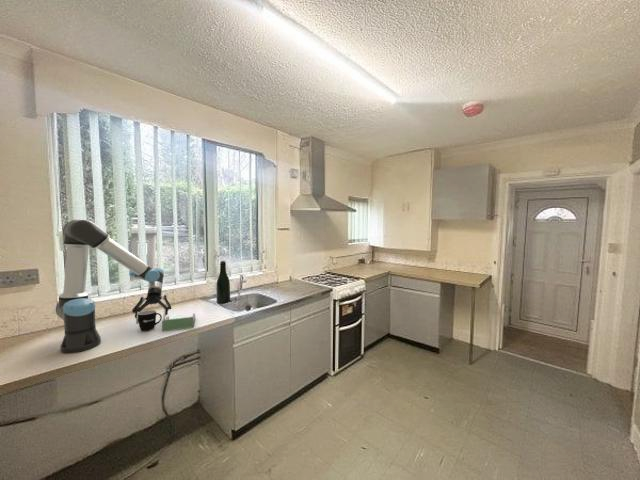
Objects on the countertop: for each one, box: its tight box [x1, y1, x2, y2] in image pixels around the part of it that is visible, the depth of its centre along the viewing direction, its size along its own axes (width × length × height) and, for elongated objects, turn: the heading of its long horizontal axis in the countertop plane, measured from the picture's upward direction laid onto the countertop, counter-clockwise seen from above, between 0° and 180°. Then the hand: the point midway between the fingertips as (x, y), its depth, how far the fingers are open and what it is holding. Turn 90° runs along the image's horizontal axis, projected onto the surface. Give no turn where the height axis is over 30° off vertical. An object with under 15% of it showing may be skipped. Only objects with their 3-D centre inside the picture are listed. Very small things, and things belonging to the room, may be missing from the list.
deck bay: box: [161, 313, 196, 332], centre depth 162 cm, size 16×16×6 cm
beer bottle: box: [215, 260, 231, 304], centre depth 209 cm, size 10×10×33 cm
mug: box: [138, 309, 163, 332], centre depth 155 cm, size 12×9×10 cm
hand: (150, 321), depth 154 cm, fingers open, 13 cm apart
